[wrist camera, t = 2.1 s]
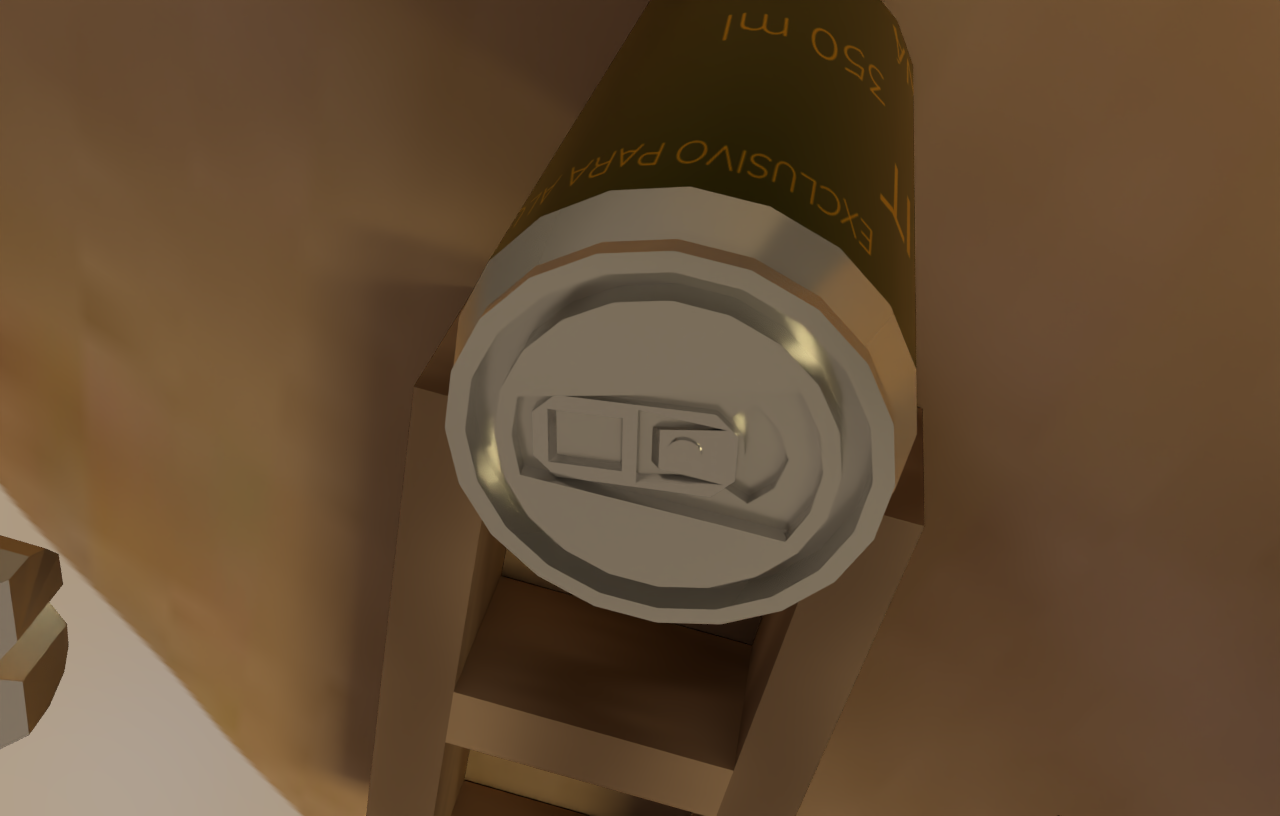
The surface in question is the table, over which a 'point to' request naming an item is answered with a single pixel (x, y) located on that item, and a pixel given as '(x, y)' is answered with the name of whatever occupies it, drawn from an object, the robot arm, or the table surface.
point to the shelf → (601, 665)
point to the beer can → (704, 318)
